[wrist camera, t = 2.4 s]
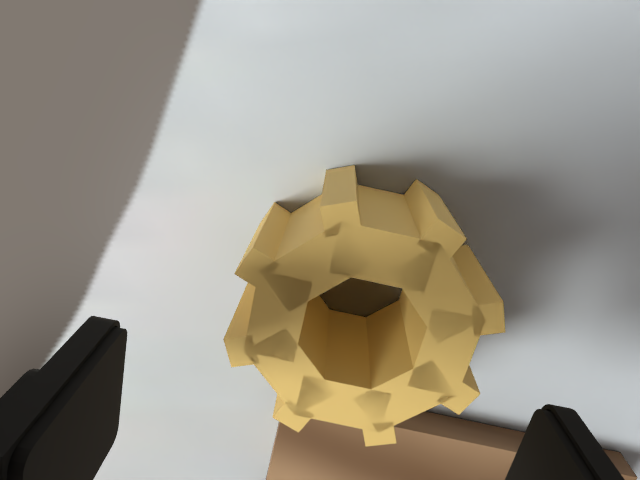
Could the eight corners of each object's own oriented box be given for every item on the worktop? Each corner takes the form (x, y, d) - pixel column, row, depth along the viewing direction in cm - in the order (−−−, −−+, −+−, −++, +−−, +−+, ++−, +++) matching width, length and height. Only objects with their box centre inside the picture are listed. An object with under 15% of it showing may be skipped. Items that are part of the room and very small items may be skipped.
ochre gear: (273, 146, 16) (250, 177, 12) (495, 196, 16) (541, 241, 12) (239, 339, 18) (211, 414, 14) (430, 380, 18) (451, 464, 15)
